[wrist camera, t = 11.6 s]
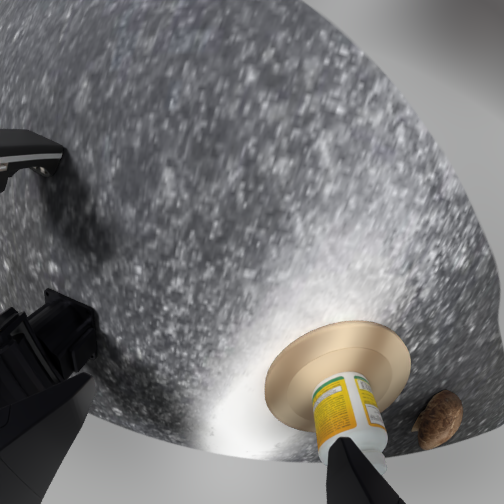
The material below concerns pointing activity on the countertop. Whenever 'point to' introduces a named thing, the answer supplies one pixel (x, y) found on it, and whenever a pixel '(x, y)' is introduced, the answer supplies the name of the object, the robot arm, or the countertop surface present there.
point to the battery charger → (26, 154)
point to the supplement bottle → (349, 417)
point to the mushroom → (439, 420)
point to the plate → (335, 368)
